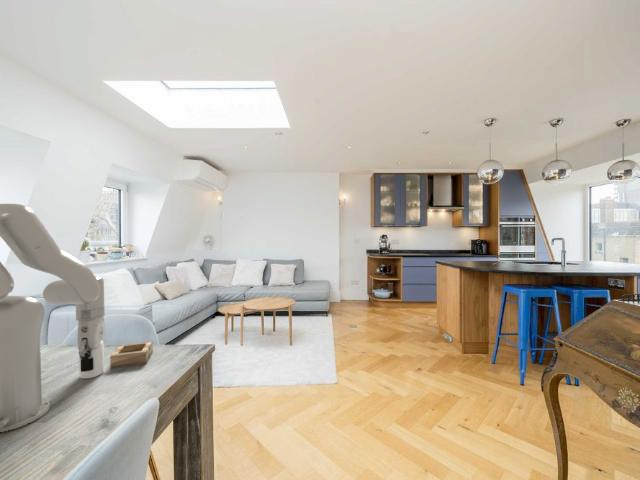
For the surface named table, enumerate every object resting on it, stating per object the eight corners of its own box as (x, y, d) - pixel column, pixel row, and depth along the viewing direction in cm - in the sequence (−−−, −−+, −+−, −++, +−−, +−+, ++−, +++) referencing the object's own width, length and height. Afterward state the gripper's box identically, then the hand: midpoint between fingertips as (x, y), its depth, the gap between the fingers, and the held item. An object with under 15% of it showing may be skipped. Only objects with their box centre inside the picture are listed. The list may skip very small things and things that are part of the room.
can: (108, 370, 99) (108, 336, 99) (92, 379, 92) (91, 343, 92) (92, 369, 99) (91, 335, 99) (74, 379, 93) (73, 343, 93)
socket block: (146, 363, 104) (146, 351, 104) (110, 369, 100) (110, 356, 100) (152, 352, 114) (152, 341, 114) (120, 356, 110) (120, 345, 110)
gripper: (93, 319, 89) (95, 375, 89) (112, 306, 105) (113, 354, 105) (63, 322, 86) (65, 380, 86) (87, 308, 102) (89, 357, 103)
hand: (91, 365), depth 96 cm, fingers open, 6 cm apart
